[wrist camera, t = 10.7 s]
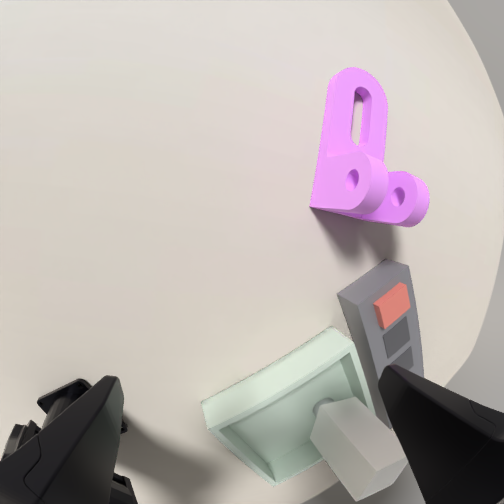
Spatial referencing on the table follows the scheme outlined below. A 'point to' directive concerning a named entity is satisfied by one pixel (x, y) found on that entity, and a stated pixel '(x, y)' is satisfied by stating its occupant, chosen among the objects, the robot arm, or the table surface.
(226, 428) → the tray
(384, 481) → the white long block
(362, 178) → the bracket
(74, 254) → the table surface
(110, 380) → the robot arm
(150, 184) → the table surface
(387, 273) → the power strip
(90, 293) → the table surface
